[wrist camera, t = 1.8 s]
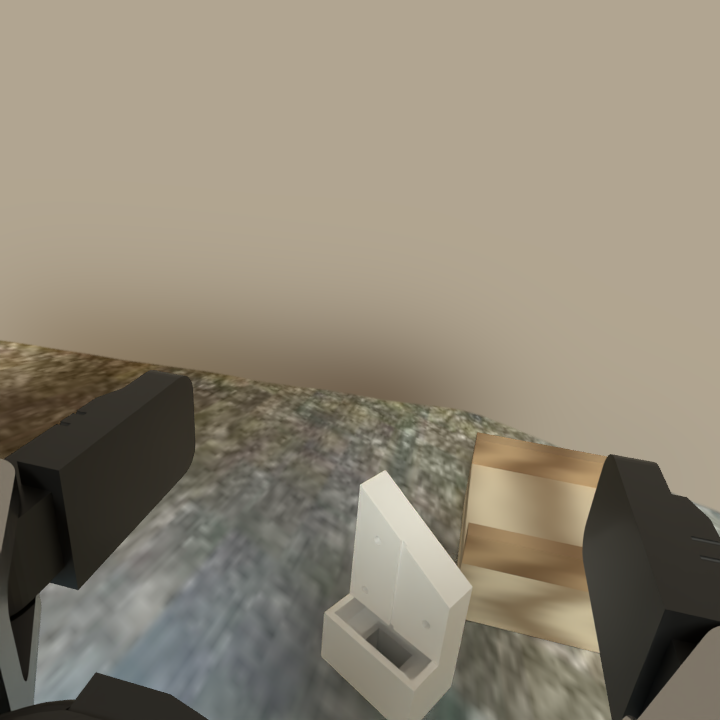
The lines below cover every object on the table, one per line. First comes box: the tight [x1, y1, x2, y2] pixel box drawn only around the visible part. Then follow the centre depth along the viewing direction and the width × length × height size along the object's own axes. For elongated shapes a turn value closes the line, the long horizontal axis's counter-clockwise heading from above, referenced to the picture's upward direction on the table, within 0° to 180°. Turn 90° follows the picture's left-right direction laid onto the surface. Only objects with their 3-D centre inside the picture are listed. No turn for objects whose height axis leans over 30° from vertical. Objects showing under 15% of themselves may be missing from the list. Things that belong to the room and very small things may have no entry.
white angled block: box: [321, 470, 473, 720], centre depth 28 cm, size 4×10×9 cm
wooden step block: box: [457, 432, 607, 653], centre depth 35 cm, size 10×11×6 cm
